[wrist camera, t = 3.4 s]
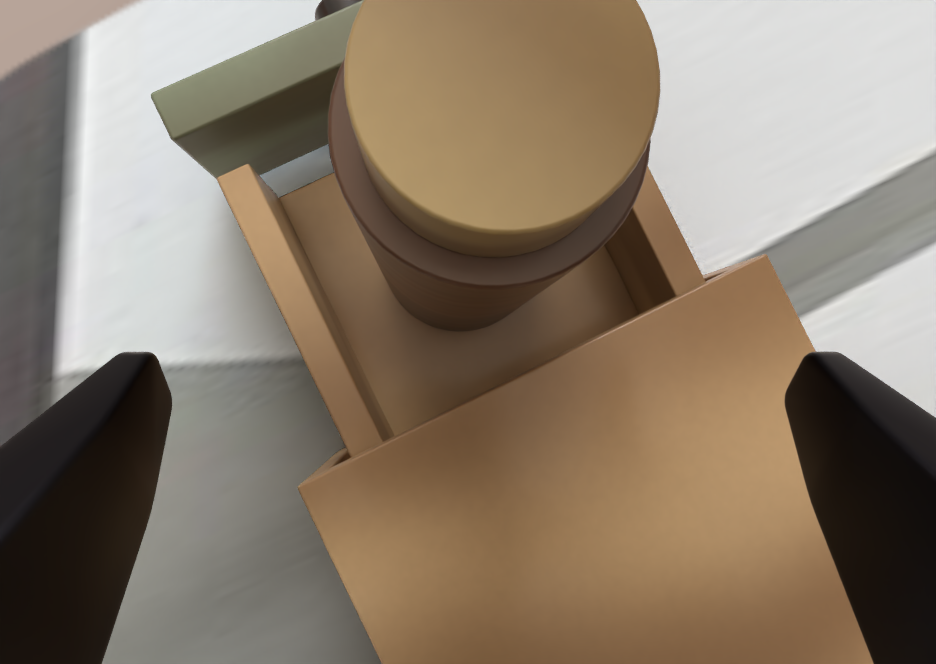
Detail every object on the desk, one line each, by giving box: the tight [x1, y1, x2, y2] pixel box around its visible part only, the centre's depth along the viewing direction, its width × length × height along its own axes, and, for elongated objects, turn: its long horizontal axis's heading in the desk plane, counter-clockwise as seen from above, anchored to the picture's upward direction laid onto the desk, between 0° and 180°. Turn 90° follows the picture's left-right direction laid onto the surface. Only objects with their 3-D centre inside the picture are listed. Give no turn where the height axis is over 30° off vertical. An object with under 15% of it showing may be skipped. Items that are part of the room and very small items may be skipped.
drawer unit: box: [298, 254, 874, 664], centre depth 17 cm, size 13×11×6 cm
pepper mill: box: [328, 0, 660, 331], centre depth 13 cm, size 4×4×11 cm
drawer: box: [151, 0, 705, 458], centre depth 17 cm, size 14×10×4 cm
